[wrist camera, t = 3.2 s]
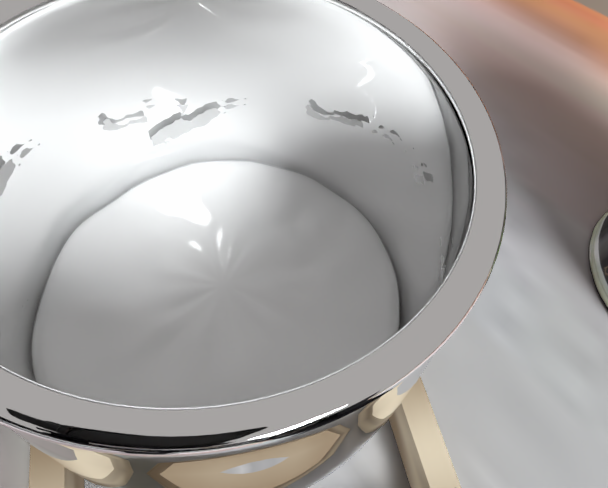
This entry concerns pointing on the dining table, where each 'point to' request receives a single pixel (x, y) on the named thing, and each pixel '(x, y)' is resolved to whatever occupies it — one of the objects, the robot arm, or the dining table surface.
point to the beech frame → (405, 424)
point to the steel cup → (230, 231)
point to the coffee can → (600, 257)
